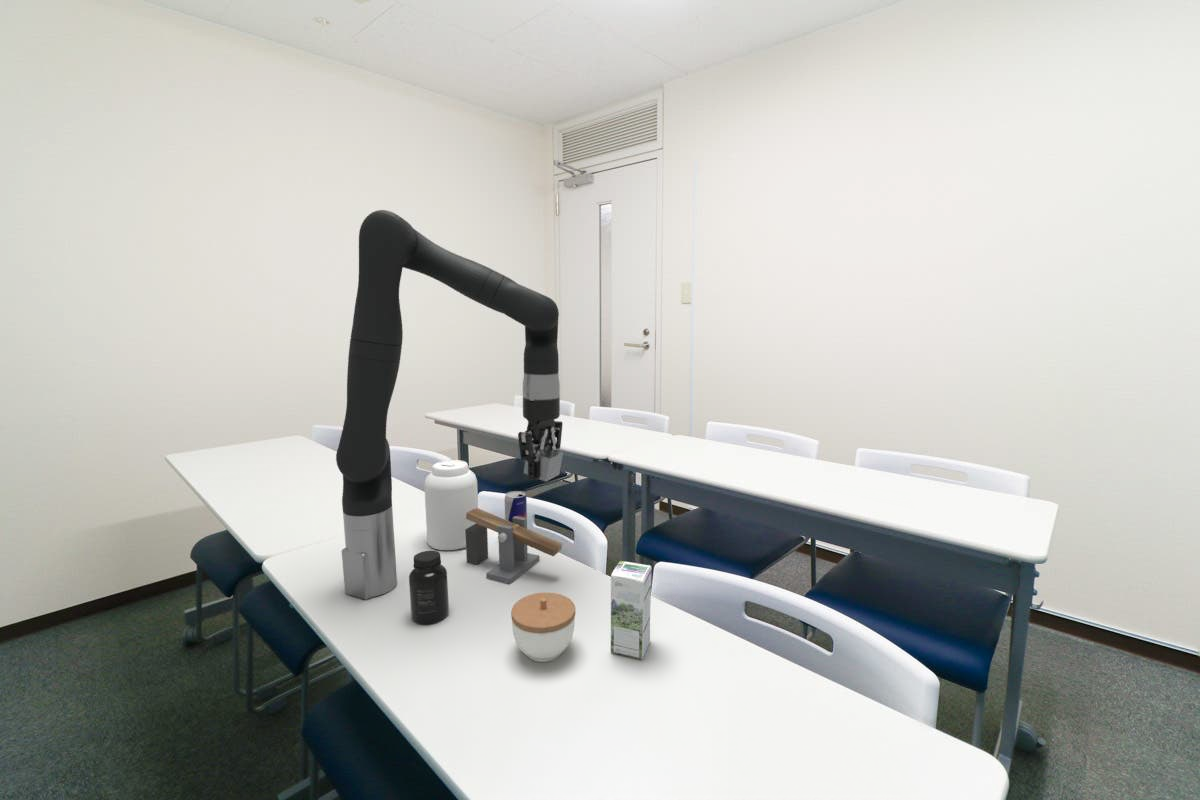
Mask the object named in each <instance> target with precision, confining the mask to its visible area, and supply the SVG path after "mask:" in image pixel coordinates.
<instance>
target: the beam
mask: <svg viewBox="0 0 1200 800" xmlns="http://www.w3.org/2000/svg"><path fill="white" fill-rule="evenodd" d="M466 519H468V520H470V521H472V522H474V523H477V524H479V525H481V526H484V527H486V528H487V530H491V531H494V532H496V533H498V526H500V525H506V526H511V527H513V539H514V540H516V541H518V542H521V543H523V544H525V545H527V547H530V548H533V549H534V550H537V551H539V552H542V553H544V554H547V555H548V556H551V557H555V556H556V555H557V554H558V553H560V551H562V548H563V543H562V542H560V541H557V540H554V539H552V538H550V537H548V536H546V535H543V534H541V533H538V532H537V531H533V530H530V529H528V528H527V529H526V528H524V527H522V526H519V525H518V524H514V523H512V522H510V521H507V520H505V518H502V517H500V516H497V515H495V514H493V513H490V512H487V511H485V510H484V509H480V508H479V507H478V508H475V509H473V510H471V511H469V512H467V514H466Z"/></svg>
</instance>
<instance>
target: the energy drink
mask: <svg viewBox="0 0 1200 800" xmlns="http://www.w3.org/2000/svg"><path fill="white" fill-rule="evenodd" d="M527 503H528V502H527V495H526V492H524V491H521V490H514V491H513V490H512V491H508V492H506V493H505V495H504V519H505V520H507V521H510V522H512V523H513V520H512V518H513V517H515V516H518V517H523V518H527V519H528V512H527V511H528V510H527V509H528V508H527V505H528V504H527Z"/></svg>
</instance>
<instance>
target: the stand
mask: <svg viewBox="0 0 1200 800" xmlns="http://www.w3.org/2000/svg"><path fill="white" fill-rule="evenodd" d="M512 520H513V523H514V524H518V525H519V526H522V527H524V528H526V529H528V517H527V518H523V517H518V516H515V517H513V518H512ZM465 533H466V547H465V551H466V552H465V555H466V556H465V557H466V563H469V564H471V565H475V566H478V565H480V564H481V563H483V562H484V561H486V560H487V559H488V558H489V546H488V545H489V543H488V542H489V540H488V528H486V527H484V526H481V525H479V524H477V523H476V524H474V525H472V526H470V527H469V528H467V529H465ZM497 534H498V535H497V539H498V561H499V562H498V563H497V565H496V566H494V567H492V568H491V569H489V571H487V572H486V575H485V576H486V577H485V578H486V579H488V580H492V581H495V582H499V583H503V584H506V585H511V584H512V583H514V581H516V580H517V579H518V578H520V576H522V575H523V574H524V573H525V572H527V571H528V570H530V569H532V567H533V566H534V565H536V564H537V563H539V562H540V560H541V559H540V558H541V557H540V555H539V554H533V553H529V552H528V545H525V544H523V543H521V542H518V541H516V540H514V539H513V527H511V526H506V525H500V526H498V532H497Z"/></svg>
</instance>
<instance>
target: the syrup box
mask: <svg viewBox="0 0 1200 800" xmlns="http://www.w3.org/2000/svg"><path fill="white" fill-rule="evenodd" d="M651 598H652V566H651V565H649V564H642V563H637V562H631V561H623V560H619V562H618V563H617V565H616V566H615V568H614V569H613V571H612V573H611V574H610V653H611V654H614V655H615V654H616V655H619V656H624V657H629V658H633V659H638V660H643V659H644V656H645V653H646V652H647V649H648V647H649V644H650V642H651V602H652V601H651Z"/></svg>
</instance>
